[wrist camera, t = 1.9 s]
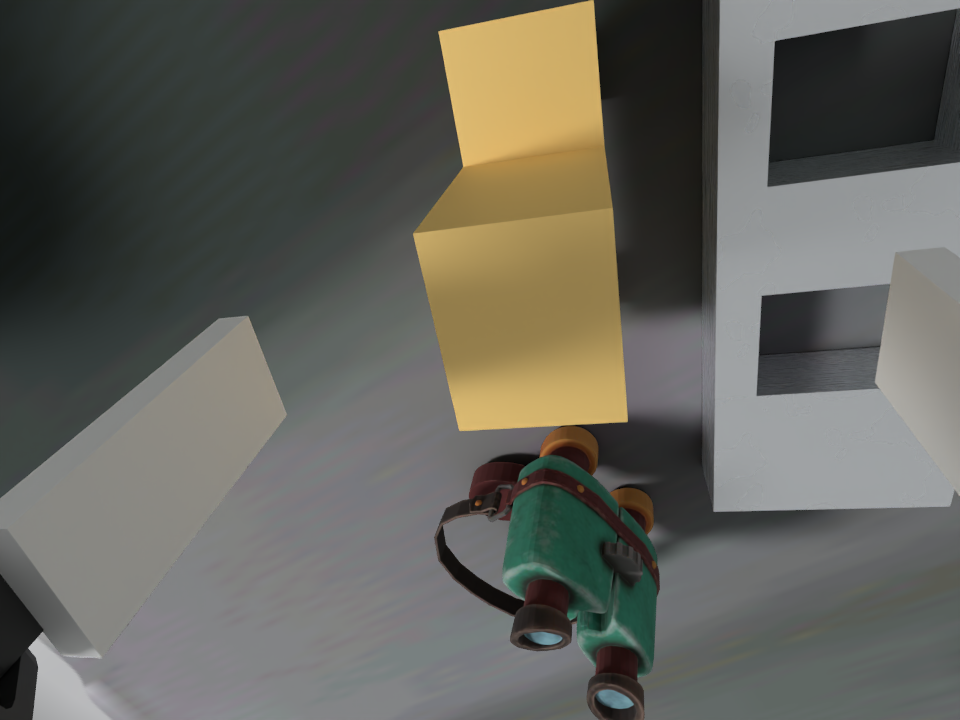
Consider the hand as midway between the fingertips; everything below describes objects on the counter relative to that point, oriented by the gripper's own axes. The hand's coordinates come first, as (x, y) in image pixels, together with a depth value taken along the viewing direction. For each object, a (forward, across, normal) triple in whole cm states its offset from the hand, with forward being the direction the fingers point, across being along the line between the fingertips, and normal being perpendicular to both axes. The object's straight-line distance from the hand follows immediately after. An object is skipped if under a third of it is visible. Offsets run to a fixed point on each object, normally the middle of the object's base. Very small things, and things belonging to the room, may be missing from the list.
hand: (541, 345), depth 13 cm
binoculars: (+13, -2, -16) cm, 20 cm away
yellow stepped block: (+12, 0, 0) cm, 12 cm away
